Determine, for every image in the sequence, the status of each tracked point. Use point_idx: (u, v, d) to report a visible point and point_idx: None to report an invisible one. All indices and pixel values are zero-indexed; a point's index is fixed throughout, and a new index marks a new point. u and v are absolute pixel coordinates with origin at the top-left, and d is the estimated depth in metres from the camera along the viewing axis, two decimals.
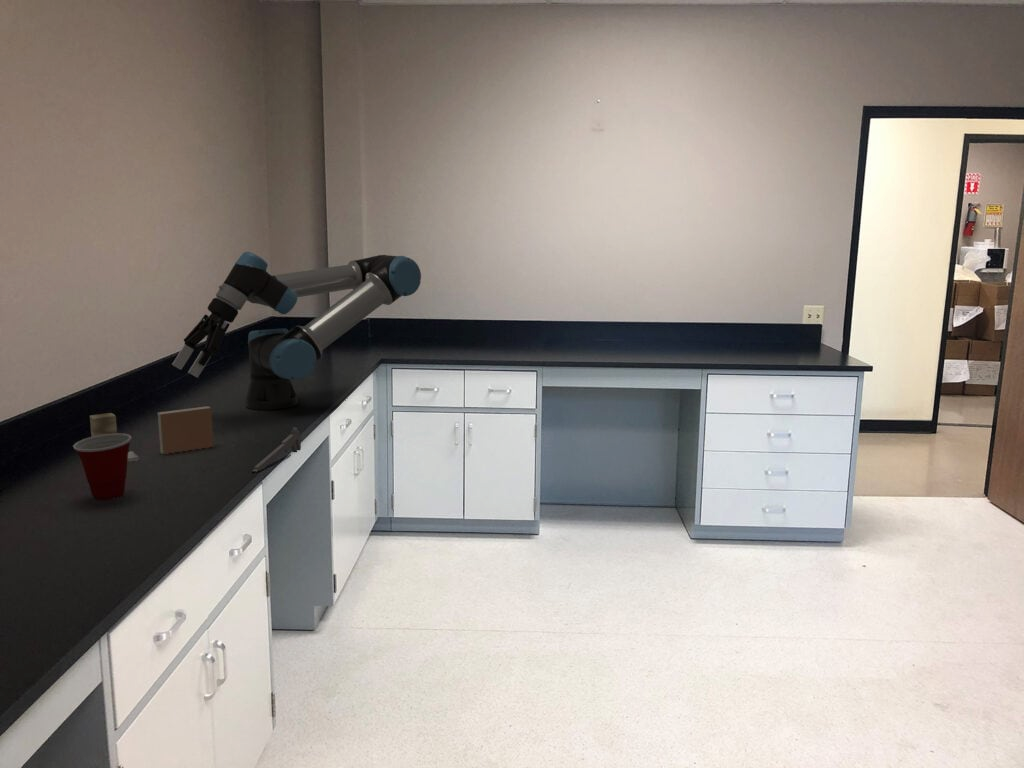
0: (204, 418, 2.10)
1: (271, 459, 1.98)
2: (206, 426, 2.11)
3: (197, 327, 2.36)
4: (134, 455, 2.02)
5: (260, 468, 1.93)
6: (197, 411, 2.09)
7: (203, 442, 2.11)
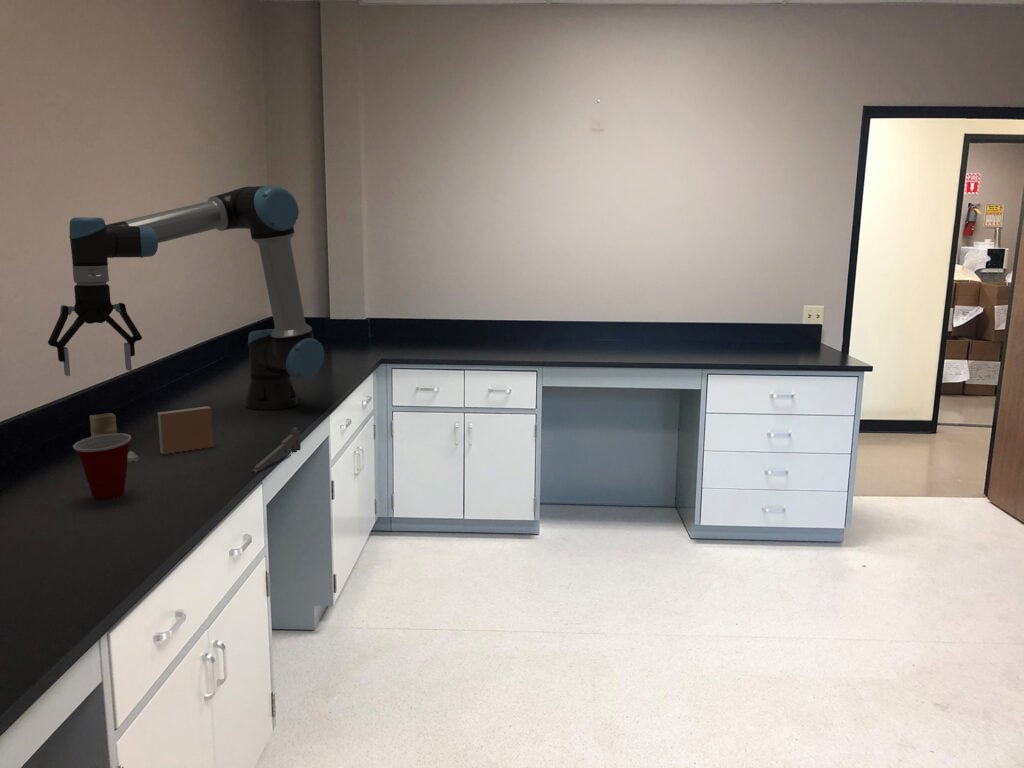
0: (204, 418, 2.10)
1: (271, 459, 1.98)
2: (206, 426, 2.11)
3: None
4: (134, 455, 2.01)
5: (260, 468, 1.93)
6: (197, 411, 2.09)
7: (203, 442, 2.11)
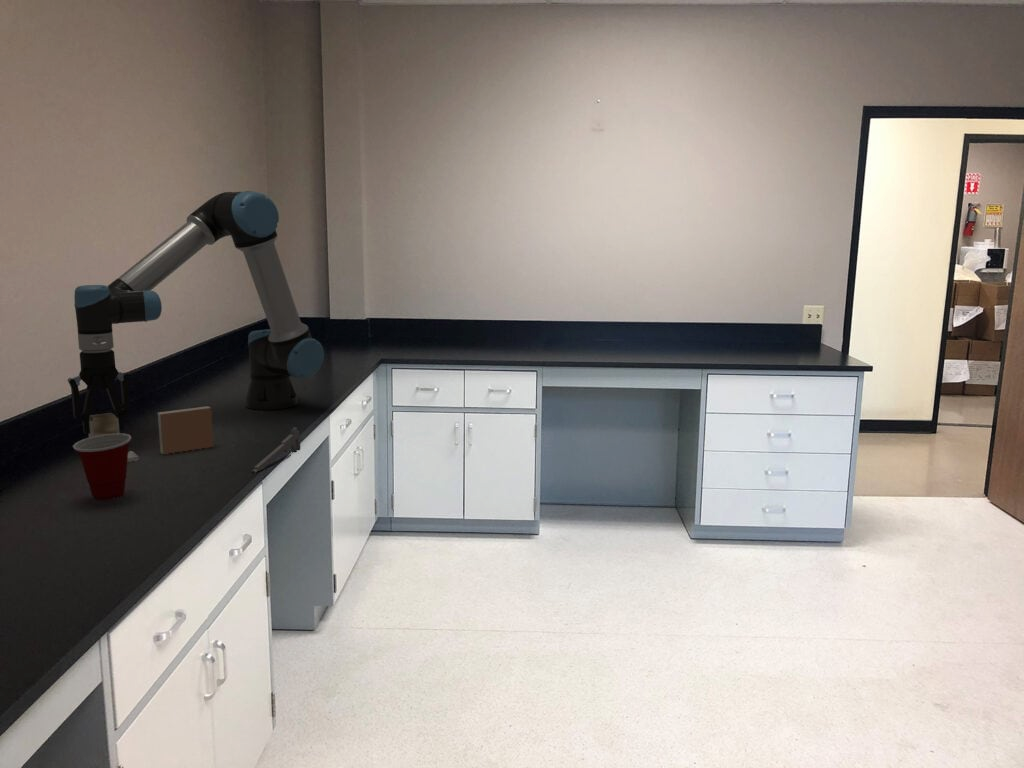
0: (204, 418, 2.10)
1: (271, 459, 1.98)
2: (206, 426, 2.11)
3: None
4: (134, 455, 2.01)
5: (260, 468, 1.93)
6: (197, 411, 2.09)
7: (203, 442, 2.11)
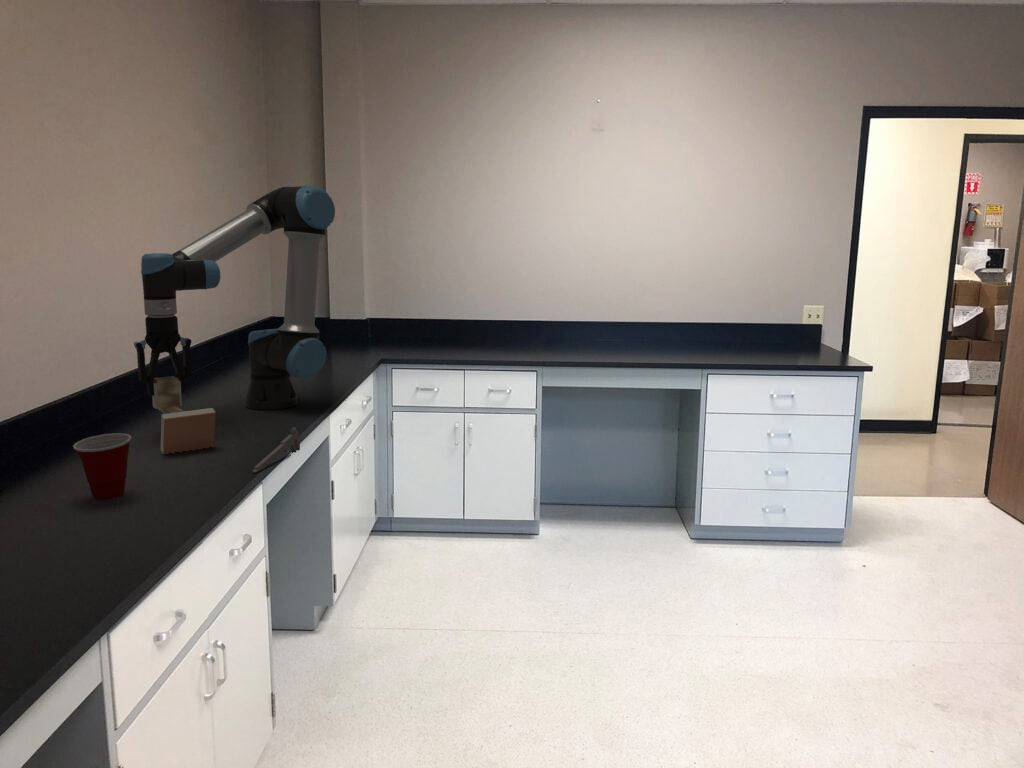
0: (207, 422, 2.08)
1: (270, 459, 1.98)
2: (208, 429, 2.09)
3: (144, 358, 2.13)
4: None
5: (260, 468, 1.93)
6: (201, 416, 2.06)
7: (204, 443, 2.11)
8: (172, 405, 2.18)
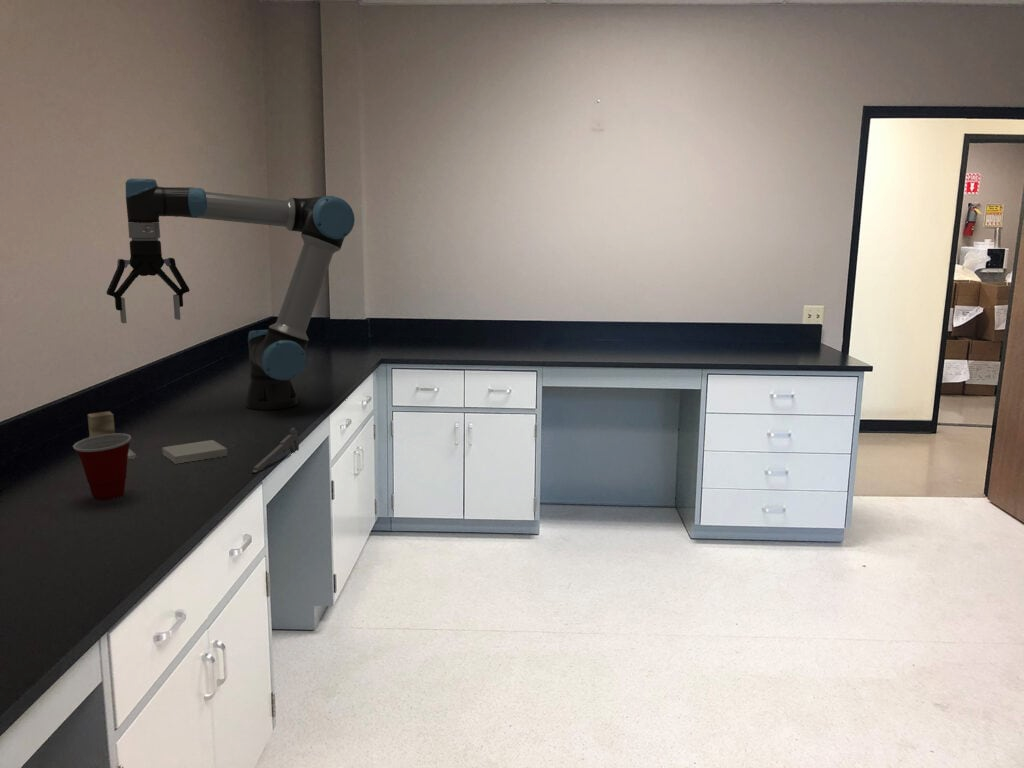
0: None
1: (270, 459, 1.97)
2: None
3: (121, 275, 2.20)
4: (132, 453, 2.03)
5: (259, 469, 1.93)
6: None
7: None
8: None
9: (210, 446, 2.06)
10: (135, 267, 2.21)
